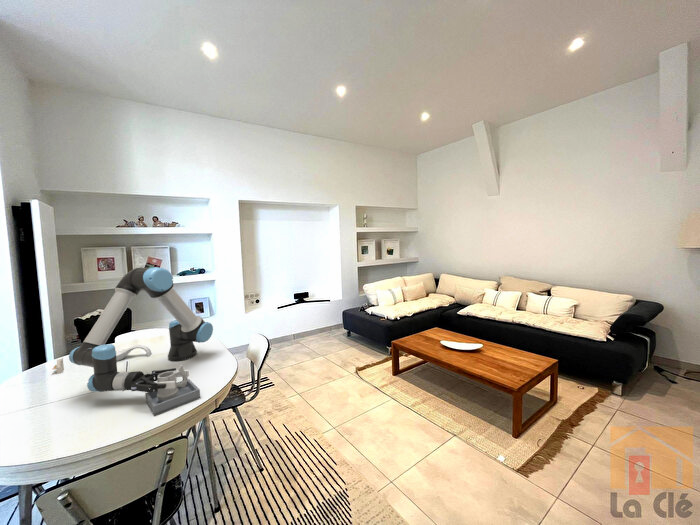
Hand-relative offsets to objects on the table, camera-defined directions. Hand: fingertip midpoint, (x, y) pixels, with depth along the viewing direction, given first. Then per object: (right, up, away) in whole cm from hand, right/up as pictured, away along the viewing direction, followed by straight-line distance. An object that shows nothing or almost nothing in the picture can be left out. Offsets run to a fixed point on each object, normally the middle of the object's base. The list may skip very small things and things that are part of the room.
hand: (181, 378), depth 121 cm
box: (-4, -10, +1) cm, 10 cm away
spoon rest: (-63, -8, +50) cm, 81 cm away
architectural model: (-87, -11, +33) cm, 93 cm away
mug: (-4, -7, +1) cm, 8 cm away
